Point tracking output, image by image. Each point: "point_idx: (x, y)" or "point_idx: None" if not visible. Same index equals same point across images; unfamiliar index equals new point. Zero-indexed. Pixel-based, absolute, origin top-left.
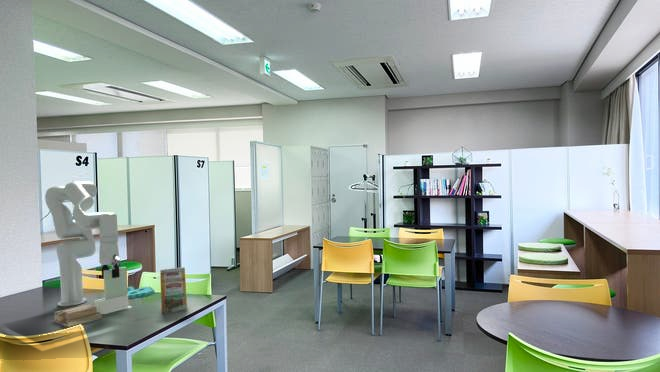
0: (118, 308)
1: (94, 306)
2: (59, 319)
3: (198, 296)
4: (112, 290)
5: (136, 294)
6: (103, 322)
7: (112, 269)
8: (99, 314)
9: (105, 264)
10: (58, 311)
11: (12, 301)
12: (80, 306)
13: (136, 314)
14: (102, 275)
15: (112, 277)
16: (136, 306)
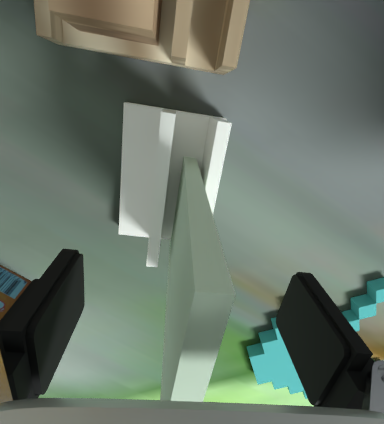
0: (152, 194)
1: (64, 4)
2: None
3: (67, 392)
4: (179, 226)
5: (277, 337)
6: (40, 40)
7: (2, 334)
8: (36, 19)
9: (133, 407)
10: None
11: None
12: (234, 13)
13: (36, 193)
14: (301, 275)
15: (62, 250)
16: None
